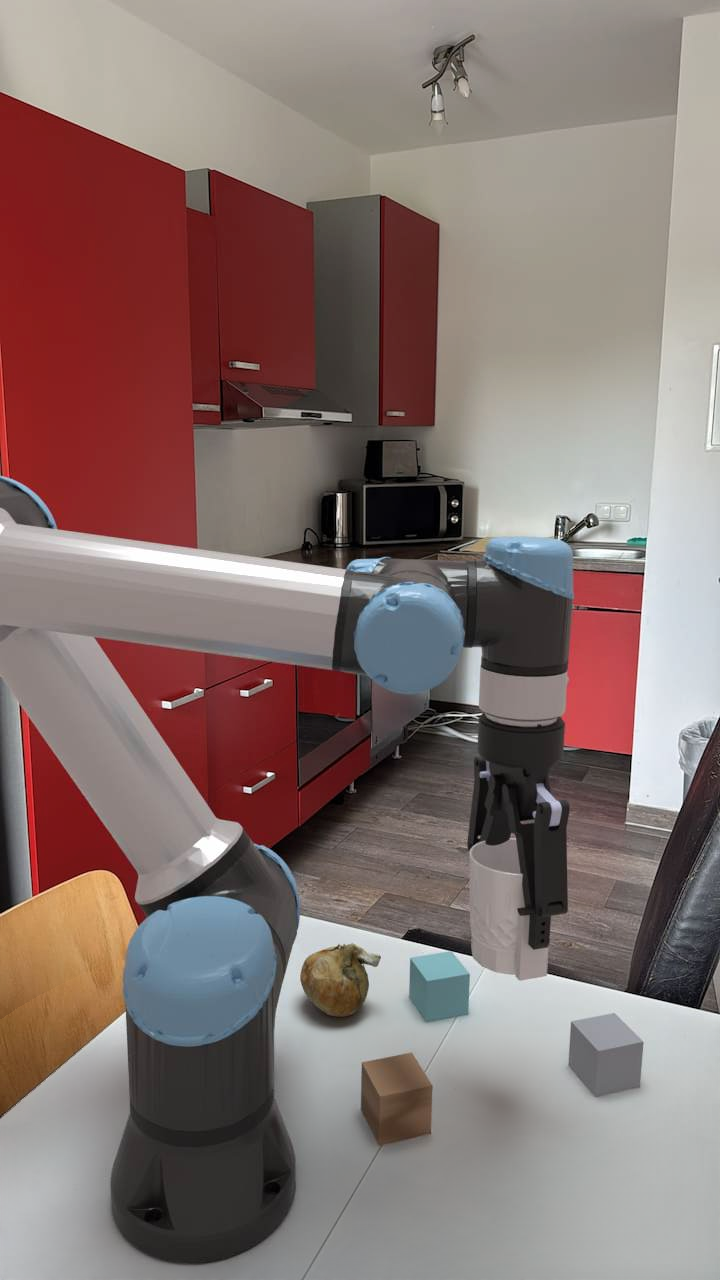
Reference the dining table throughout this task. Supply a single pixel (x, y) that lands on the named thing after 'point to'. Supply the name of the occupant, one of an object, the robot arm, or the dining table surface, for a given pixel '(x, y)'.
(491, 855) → the white cup
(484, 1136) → the dining table surface
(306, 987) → the onion
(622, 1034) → the slate grey block
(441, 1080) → the dining table surface
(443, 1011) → the dusty teal block
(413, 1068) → the walnut block
